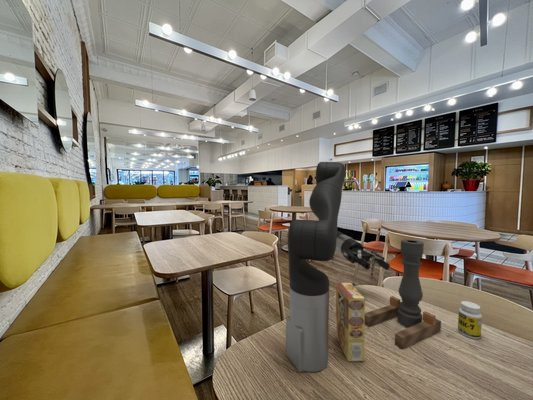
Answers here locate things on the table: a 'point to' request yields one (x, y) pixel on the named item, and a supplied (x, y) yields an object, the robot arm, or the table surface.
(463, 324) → the supplement bottle
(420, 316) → the candle holder
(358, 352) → the candy box
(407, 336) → the guide rails
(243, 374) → the table surface
